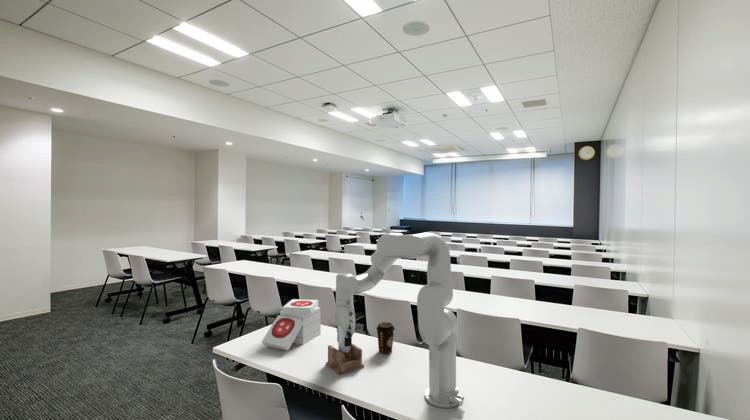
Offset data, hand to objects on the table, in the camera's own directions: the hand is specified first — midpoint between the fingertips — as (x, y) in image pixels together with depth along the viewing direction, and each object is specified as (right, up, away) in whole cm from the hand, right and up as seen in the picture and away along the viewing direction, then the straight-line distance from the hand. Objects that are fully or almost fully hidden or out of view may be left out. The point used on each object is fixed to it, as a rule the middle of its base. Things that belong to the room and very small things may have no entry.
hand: (344, 343), depth 142 cm
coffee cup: (+18, -10, +14) cm, 25 cm away
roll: (0, -3, 0) cm, 3 cm away
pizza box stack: (-28, -10, +27) cm, 40 cm away
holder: (0, -10, 0) cm, 10 cm away
